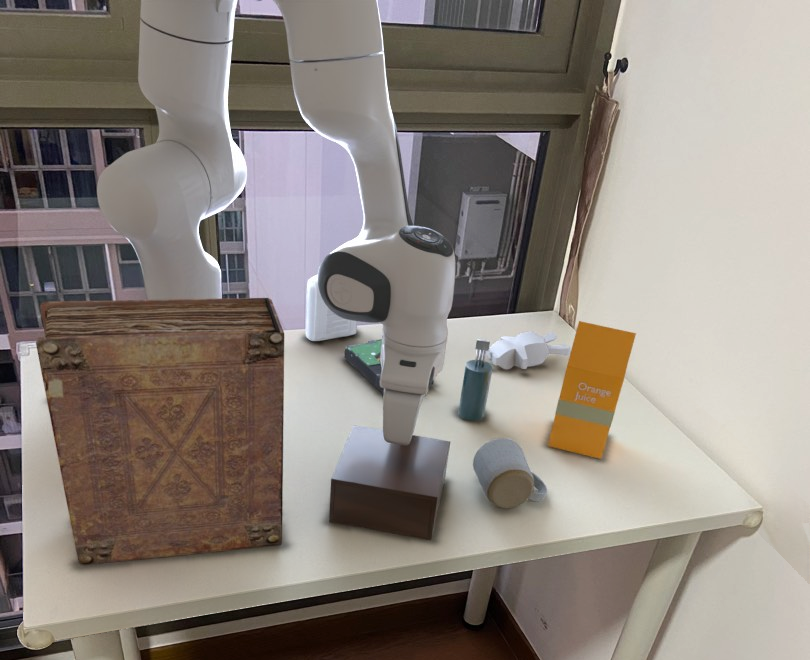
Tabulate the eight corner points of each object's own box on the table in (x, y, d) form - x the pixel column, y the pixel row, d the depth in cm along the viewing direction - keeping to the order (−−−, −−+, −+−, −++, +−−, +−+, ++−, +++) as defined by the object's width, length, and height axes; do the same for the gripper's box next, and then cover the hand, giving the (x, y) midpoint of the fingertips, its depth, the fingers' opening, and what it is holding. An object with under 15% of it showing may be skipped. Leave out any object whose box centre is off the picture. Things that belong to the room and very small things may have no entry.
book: (76, 566, 103) (32, 339, 84) (77, 520, 110) (37, 301, 91) (283, 545, 110) (284, 331, 91) (272, 503, 117) (271, 296, 98)
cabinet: (350, 466, 126) (353, 424, 121) (444, 482, 125) (450, 441, 120) (328, 522, 115) (331, 478, 110) (431, 540, 114) (437, 497, 109)
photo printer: (348, 326, 163) (352, 263, 156) (360, 335, 161) (364, 272, 153) (301, 335, 158) (303, 271, 151) (312, 344, 156) (314, 279, 148)
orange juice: (555, 423, 142) (582, 311, 129) (607, 436, 140) (639, 323, 128) (547, 446, 136) (574, 331, 123) (601, 459, 134) (634, 344, 122)
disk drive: (434, 386, 148) (391, 349, 157) (436, 372, 146) (392, 335, 155) (384, 397, 143) (342, 358, 152) (385, 382, 141) (343, 344, 151)
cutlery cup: (456, 418, 140) (468, 344, 131) (459, 405, 143) (471, 332, 135) (482, 423, 139) (496, 348, 131) (485, 410, 143) (498, 337, 135)
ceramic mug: (483, 513, 120) (493, 468, 115) (468, 480, 126) (477, 436, 121) (552, 511, 122) (565, 467, 117) (534, 478, 128) (545, 435, 123)
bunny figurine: (480, 334, 157) (551, 319, 161) (479, 358, 160) (549, 343, 164) (503, 357, 150) (577, 341, 154) (501, 382, 154) (573, 366, 158)
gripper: (401, 318, 123) (392, 400, 132) (378, 382, 107) (370, 471, 116) (443, 324, 123) (432, 407, 132) (426, 390, 107) (415, 479, 116)
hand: (403, 438), depth 124 cm, fingers closed
